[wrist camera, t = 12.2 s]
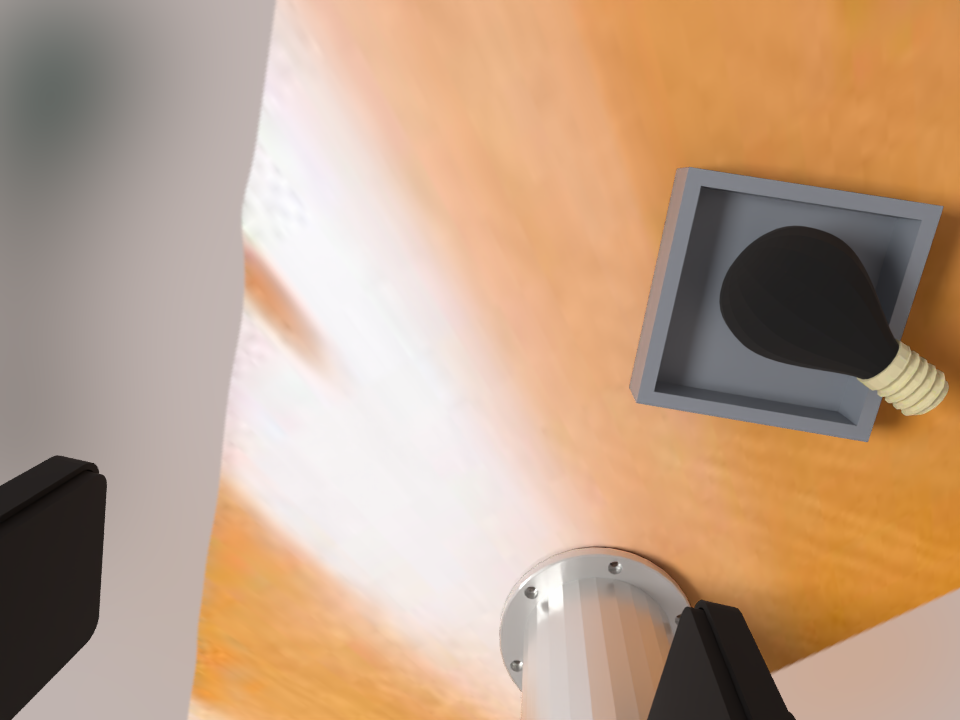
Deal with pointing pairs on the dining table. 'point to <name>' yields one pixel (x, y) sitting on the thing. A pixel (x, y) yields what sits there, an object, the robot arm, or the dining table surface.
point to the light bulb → (823, 316)
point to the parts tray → (697, 284)
